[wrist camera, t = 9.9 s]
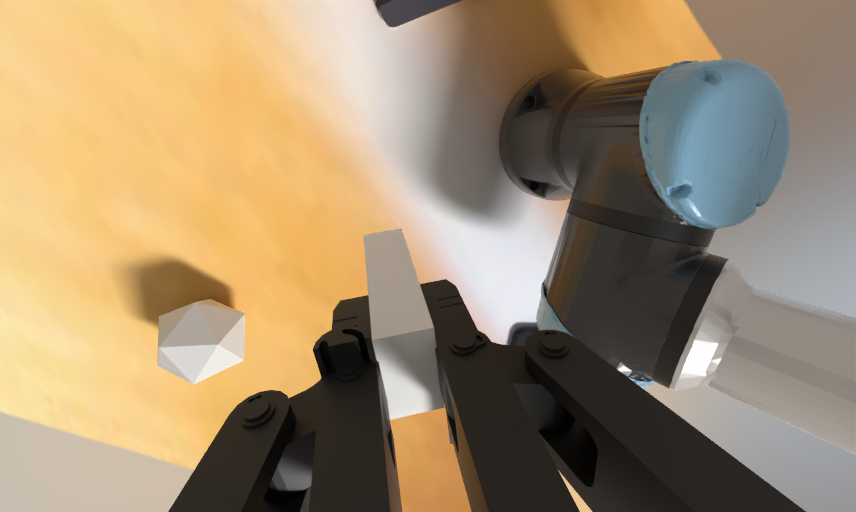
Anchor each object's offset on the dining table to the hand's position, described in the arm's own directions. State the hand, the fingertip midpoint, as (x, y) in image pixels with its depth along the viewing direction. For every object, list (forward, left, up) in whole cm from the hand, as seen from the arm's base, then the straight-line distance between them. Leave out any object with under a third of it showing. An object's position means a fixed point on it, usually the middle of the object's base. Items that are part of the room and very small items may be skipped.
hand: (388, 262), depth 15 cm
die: (+19, +13, -30) cm, 38 cm away
